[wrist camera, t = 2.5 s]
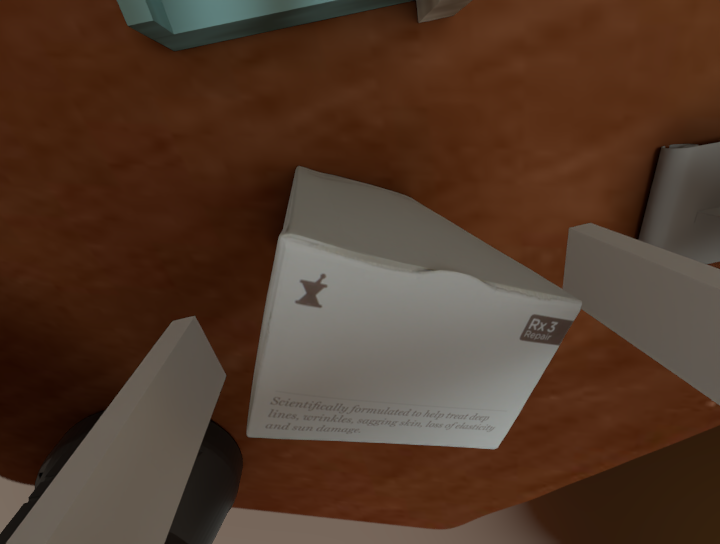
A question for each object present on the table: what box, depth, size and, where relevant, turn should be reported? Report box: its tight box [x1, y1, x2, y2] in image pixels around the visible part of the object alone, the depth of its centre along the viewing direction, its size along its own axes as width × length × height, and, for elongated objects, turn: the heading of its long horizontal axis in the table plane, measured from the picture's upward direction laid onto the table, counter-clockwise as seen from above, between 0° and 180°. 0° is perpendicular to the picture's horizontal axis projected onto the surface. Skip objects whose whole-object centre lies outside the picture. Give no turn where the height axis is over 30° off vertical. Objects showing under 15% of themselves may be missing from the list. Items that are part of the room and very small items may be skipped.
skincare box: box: [246, 166, 582, 449], centre depth 15 cm, size 8×6×15 cm
